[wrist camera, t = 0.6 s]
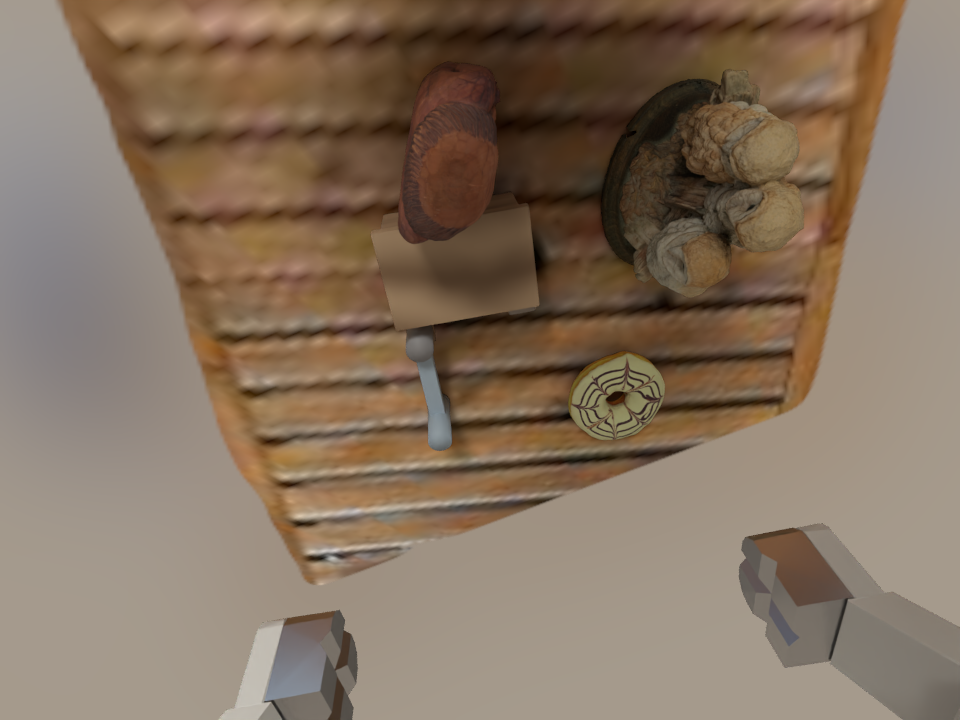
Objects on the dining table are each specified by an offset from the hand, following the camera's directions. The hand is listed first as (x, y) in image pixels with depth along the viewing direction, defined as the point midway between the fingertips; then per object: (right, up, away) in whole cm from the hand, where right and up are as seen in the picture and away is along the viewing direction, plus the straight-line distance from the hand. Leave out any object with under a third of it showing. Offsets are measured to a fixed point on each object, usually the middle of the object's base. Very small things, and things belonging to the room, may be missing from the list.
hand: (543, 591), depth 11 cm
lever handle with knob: (-7, +4, +48) cm, 49 cm away
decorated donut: (+14, +2, +53) cm, 54 cm away
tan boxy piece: (-3, +14, +43) cm, 45 cm away
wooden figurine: (-4, +24, +37) cm, 44 cm away
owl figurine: (+16, +22, +40) cm, 49 cm away
